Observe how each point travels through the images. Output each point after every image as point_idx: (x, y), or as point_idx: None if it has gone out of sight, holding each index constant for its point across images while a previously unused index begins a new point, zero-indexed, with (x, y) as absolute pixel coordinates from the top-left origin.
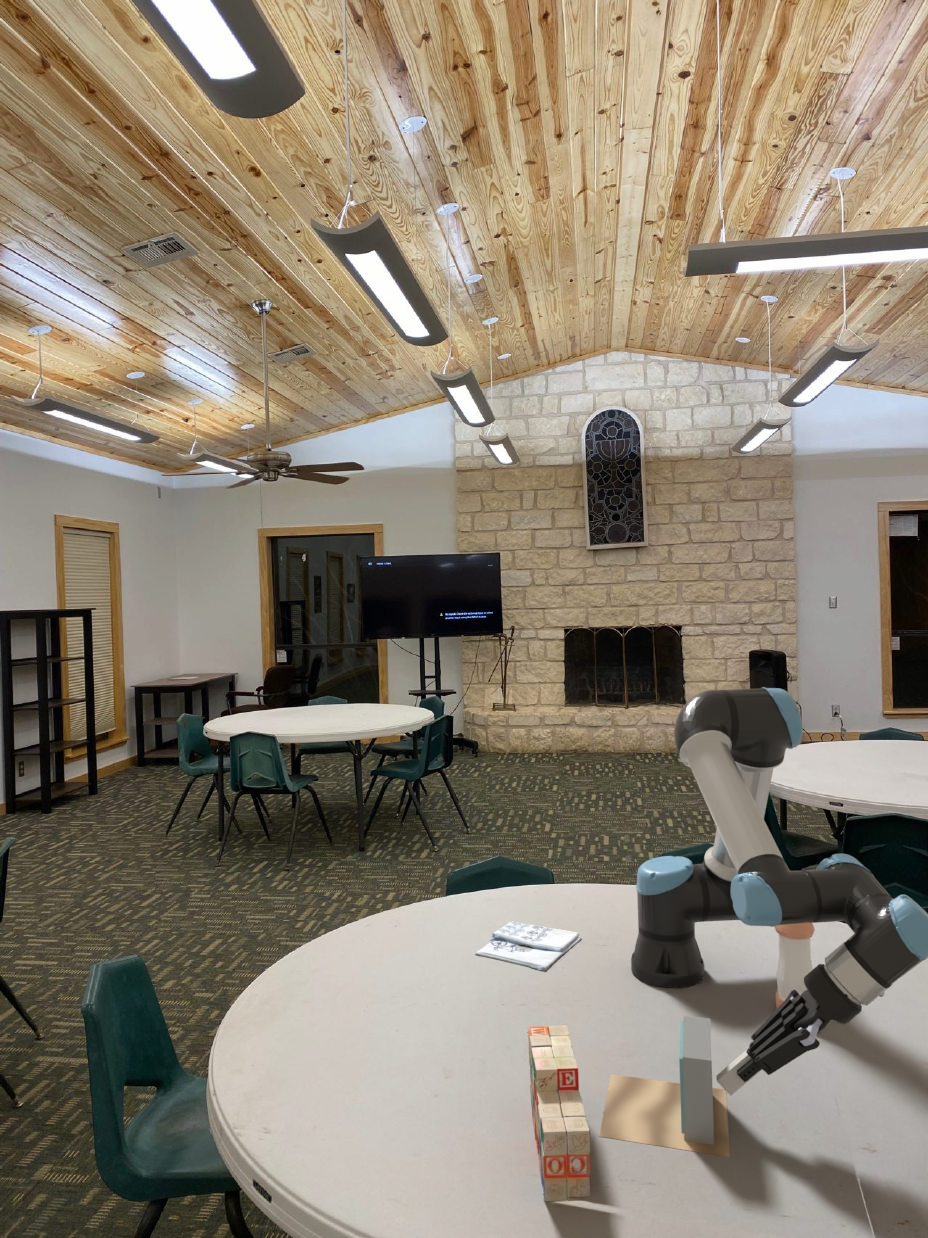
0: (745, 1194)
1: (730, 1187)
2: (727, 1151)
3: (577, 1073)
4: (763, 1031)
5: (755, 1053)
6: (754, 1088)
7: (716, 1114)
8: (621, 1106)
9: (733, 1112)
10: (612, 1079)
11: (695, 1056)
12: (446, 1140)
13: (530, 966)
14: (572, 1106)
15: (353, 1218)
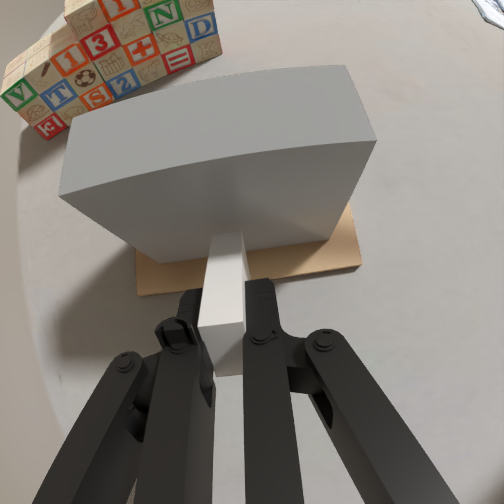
0: (78, 323)
1: (85, 300)
2: (149, 289)
3: (67, 22)
4: (328, 394)
5: (168, 356)
6: (403, 320)
7: (262, 256)
8: None
9: (299, 289)
10: None
11: (77, 146)
12: None
13: (479, 9)
14: (41, 56)
15: (45, 34)
